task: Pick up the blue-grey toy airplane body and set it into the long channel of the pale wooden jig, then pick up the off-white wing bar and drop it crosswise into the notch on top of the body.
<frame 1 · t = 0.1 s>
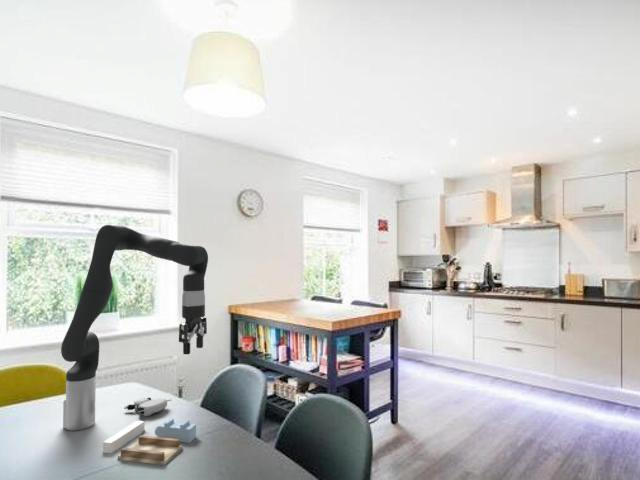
hand: (193, 350, 133), 29 cm above the table, tool pointing down, fingers open, 8 cm apart
robot toy: (147, 412, 154), on the table
wing: (124, 441, 130), on the table
jig: (150, 454, 121), on the table
fuselage: (176, 438, 131), on the table
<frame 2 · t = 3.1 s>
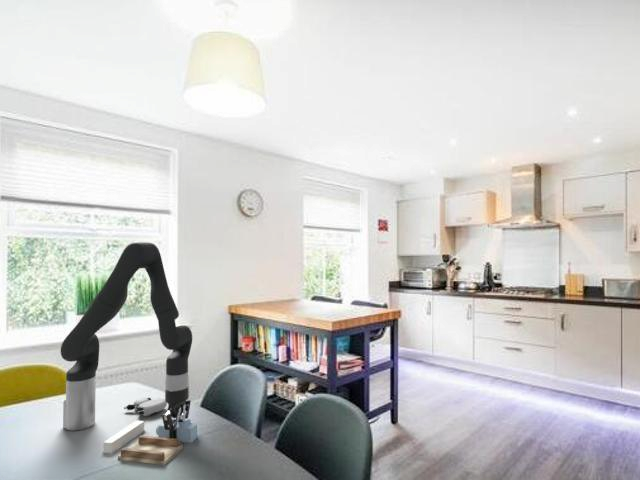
hand: (176, 436, 131), 0 cm above the table, tool pointing down, fingers closed on fuselage, 4 cm apart
fuselage: (177, 438, 131), on the table, touching gripper
everything else where it was.
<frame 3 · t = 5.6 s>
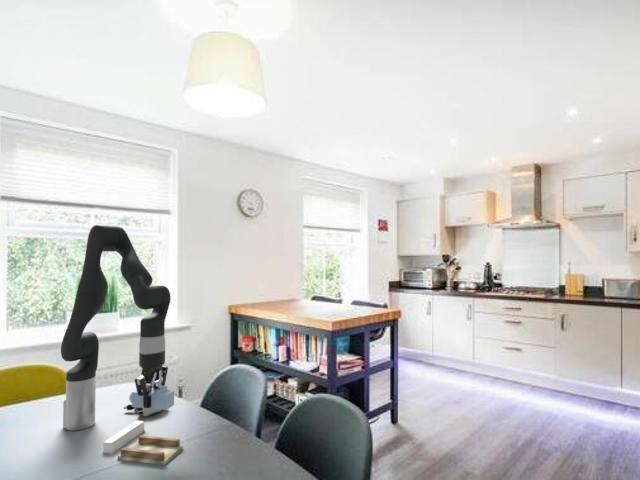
hand: (151, 404, 122), 15 cm above the table, tool pointing down, fingers closed on fuselage, 4 cm apart
fuselage: (153, 405, 122), point 15 cm above the table, touching gripper
everything else where it was.
when the fingers open (3 cm above the table, at t = 8.2 s): fuselage drops 2 cm, resting on jig.
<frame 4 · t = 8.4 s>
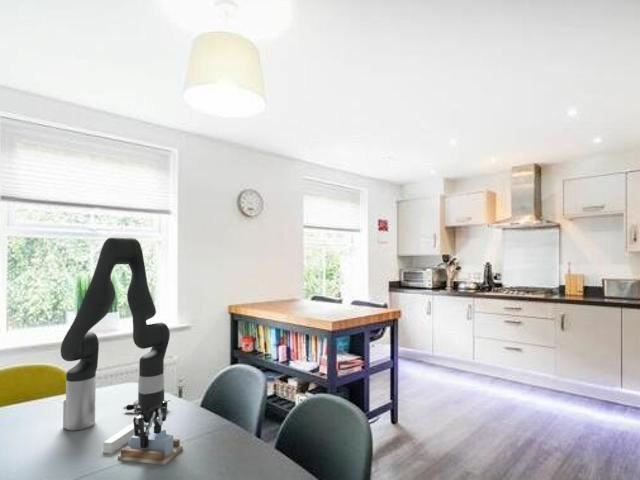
hand: (151, 442, 121), 4 cm above the table, tool pointing down, fingers open, 6 cm apart
fuselage: (152, 450, 121), point 1 cm above the table, touching jig
everything else where it was.
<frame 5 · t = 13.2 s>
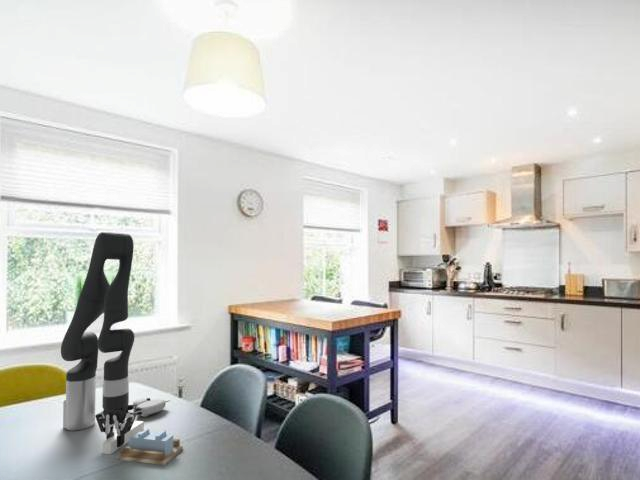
hand: (115, 445, 125), 1 cm above the table, tool pointing down, fingers closed on wing, 3 cm apart
wing: (124, 441, 129), on the table, touching gripper
everything else where it was.
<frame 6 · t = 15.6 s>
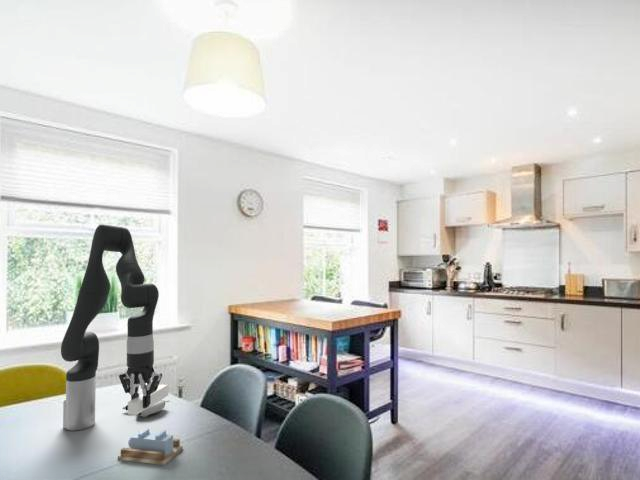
hand: (140, 406, 118), 16 cm above the table, tool pointing down, fingers closed on wing, 3 cm apart
wing: (149, 404, 122), point 15 cm above the table, touching gripper
everything else where it was.
when the fingers open (7 cm above the table, at t = 18.0 s): wing stays where it is, resting on fuselage.
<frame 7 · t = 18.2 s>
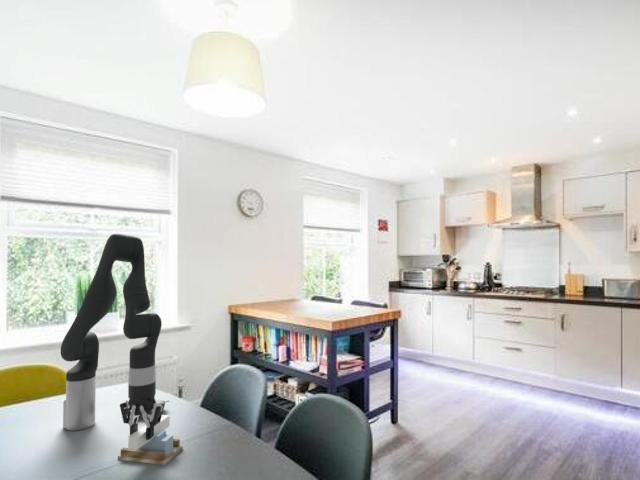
hand: (141, 437, 117), 7 cm above the table, tool pointing down, fingers open, 4 cm apart
wing: (150, 436, 121), point 6 cm above the table, touching fuselage
fuselage: (152, 450, 121), point 1 cm above the table, touching jig, wing
everything else where it was.
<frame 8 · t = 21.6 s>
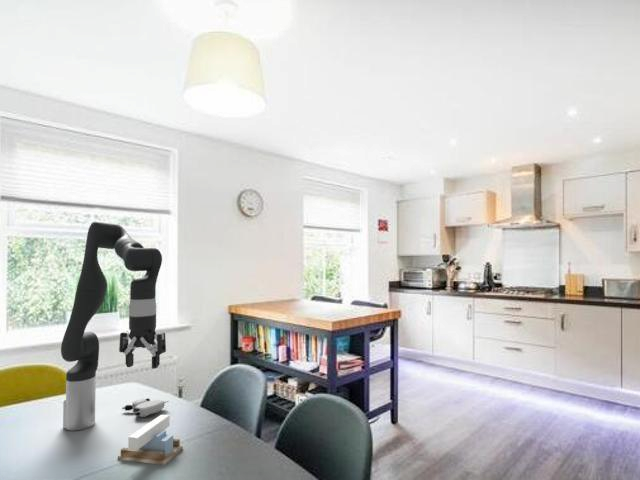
hand: (142, 367, 118), 28 cm above the table, tool pointing down, fingers open, 8 cm apart
at the end: fuselage 0.4 cm off-centre on the jig, point 1.0 cm above the jig's base; wing 0.6 cm off-centre on the fuselage, point 4.5 cm above the fuselage's base; wing tilted 0° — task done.
